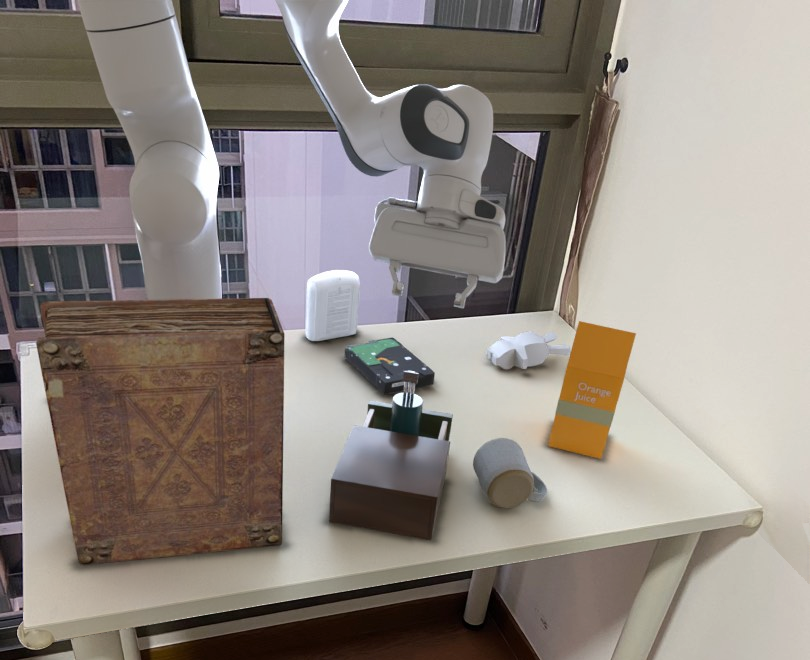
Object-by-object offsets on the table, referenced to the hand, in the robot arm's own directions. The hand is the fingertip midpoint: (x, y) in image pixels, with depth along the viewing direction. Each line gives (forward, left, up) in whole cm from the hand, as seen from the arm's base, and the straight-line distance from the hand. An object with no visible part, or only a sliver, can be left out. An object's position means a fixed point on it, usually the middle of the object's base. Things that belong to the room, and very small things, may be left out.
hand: (427, 300), depth 125 cm
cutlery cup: (0, -12, -19) cm, 23 cm away
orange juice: (+27, +3, -21) cm, 34 cm away
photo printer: (-20, +27, -21) cm, 39 cm away
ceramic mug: (+17, -16, -21) cm, 31 cm away
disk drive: (-7, +16, -21) cm, 27 cm away
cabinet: (0, -23, -21) cm, 31 cm away
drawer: (0, -11, -20) cm, 23 cm away
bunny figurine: (+17, +29, -21) cm, 39 cm away
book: (-25, -38, -21) cm, 50 cm away
